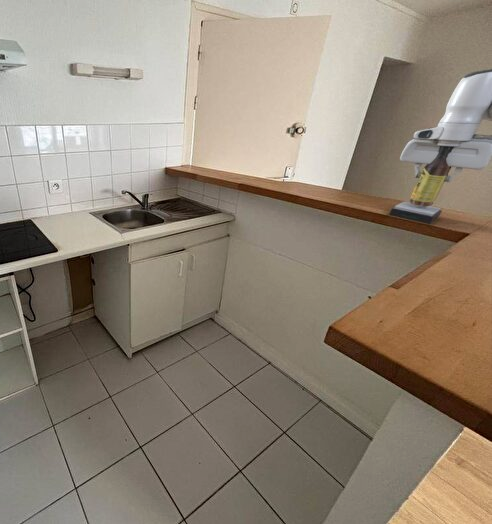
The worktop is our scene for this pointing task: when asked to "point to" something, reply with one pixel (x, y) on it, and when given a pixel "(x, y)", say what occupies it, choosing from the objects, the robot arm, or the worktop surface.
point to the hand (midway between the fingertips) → (431, 179)
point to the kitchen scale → (416, 212)
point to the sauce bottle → (432, 179)
